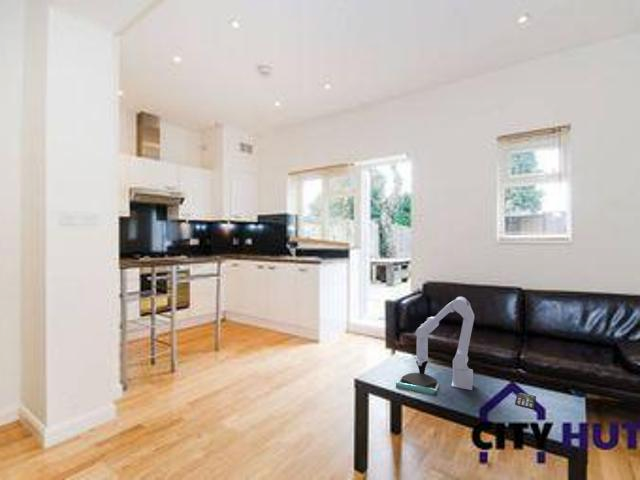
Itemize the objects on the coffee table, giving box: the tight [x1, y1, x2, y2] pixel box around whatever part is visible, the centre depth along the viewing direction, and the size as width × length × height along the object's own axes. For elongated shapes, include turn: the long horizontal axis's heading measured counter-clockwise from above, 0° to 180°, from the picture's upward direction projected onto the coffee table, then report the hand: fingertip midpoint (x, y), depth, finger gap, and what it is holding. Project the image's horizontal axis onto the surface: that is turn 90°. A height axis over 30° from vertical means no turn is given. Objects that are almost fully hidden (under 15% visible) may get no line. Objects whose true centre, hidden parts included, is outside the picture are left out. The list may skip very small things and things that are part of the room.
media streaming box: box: [401, 372, 438, 389], centre depth 176 cm, size 15×15×3 cm
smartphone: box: [514, 392, 537, 410], centre depth 158 cm, size 7×1×15 cm
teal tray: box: [395, 376, 440, 396], centre depth 172 cm, size 19×10×2 cm, turn 63°
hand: (421, 374), depth 183 cm, fingers closed, pressing on media streaming box
